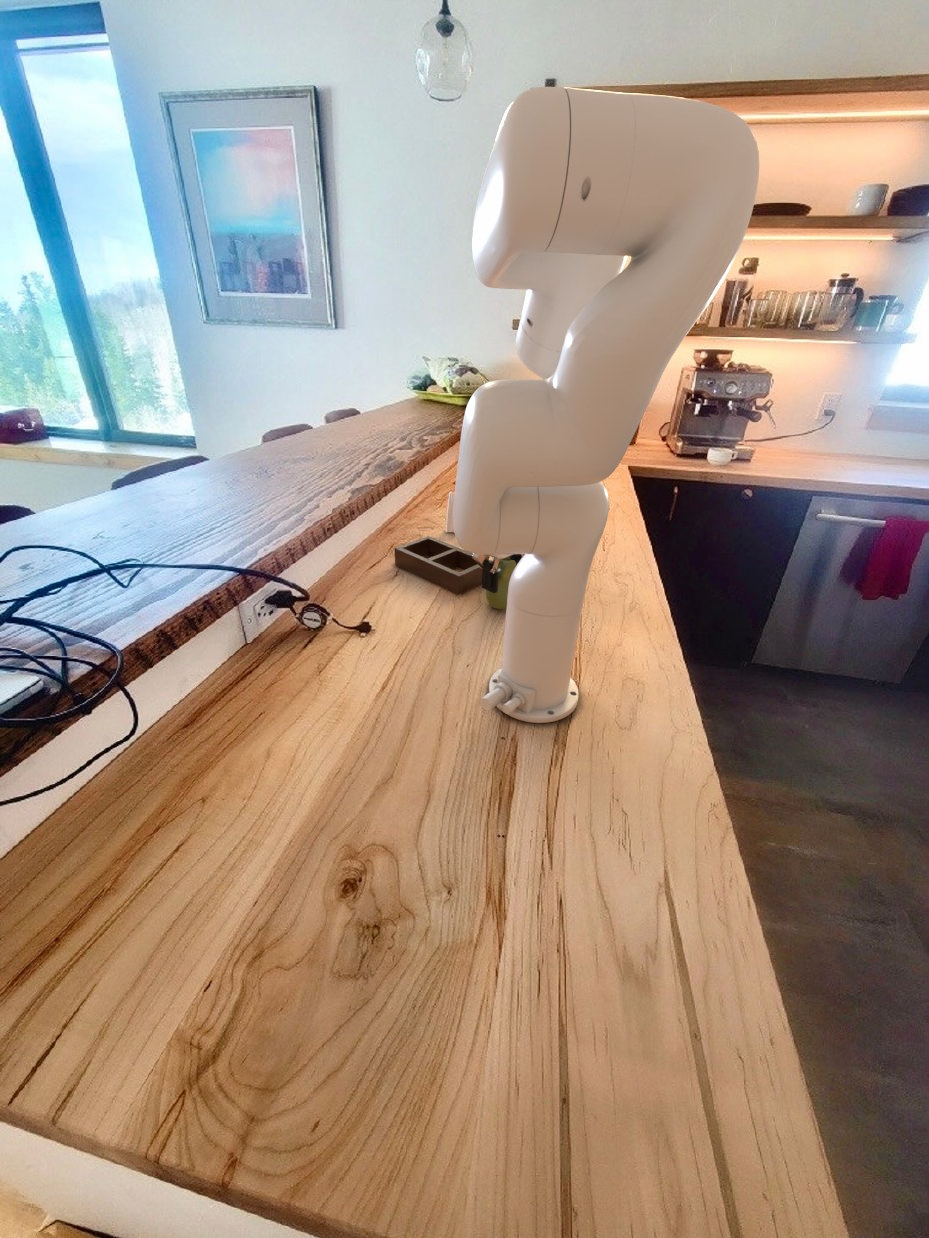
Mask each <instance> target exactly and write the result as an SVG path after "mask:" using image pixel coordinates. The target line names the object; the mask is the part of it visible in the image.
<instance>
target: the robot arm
mask: <svg viewBox="0 0 929 1238" xmlns="http://www.w3.org/2000/svg"><path fill="white" fill-rule="evenodd" d="M490 152H491V153H490V155H489V159H488V162H487V164H486V167H485V170H484V174H483V176H482V180H481V183H480V188H479V191H478V195H477V200H476V203H475V209H474V210H475V211H474V216H473V224H472V236H471V237H472V238H471V249H472V250H471V252H472V263H473V267H474V271H475V274H476V277H477V279H478V280H479V282H480V283H481V284H482V285H484V286H485V287H487V288H491V289H501V290H523V291H524V290H525V291H526V292H525V296H524V300H523V305H522V310H521V314H520V318H519V324H518V327H517V332H516V336H515V350H516V353H517V356H518V358H519V359H520V362H521V363H522V364H523V365H524V366H525V367H526V368H527V370H529V371H530V372H531V373H533V374H534V375H536V376H537V377H539V378H541V379H521V378H520V379H513V378H512V379H509V378H508V379H499V380H497V379H496V380H491V381H488V382H485V383H483V384H482V385H479V387H478V388H477V389H476V390H475V391H474V392H473V393H472V394H471V397H470V399H469V400H468V401H467V404H466V408H465V411H464V415H463V420H462V426H461V432H460V440H459V451H458V458H457V467H456V476H455V477H456V478H455V485H454V493H453V497H454V503H453V526H454V532H453V533H454V536H455V539H456V540H457V542H458V544H459V545H460V547H461V549H463V550H465V551H468V552H470V553H473V555H472V558H473V559H474V560H475V561H476V562H477V564H478V565H479V566H480V568H481V569H482V584H481V588H482V589H483V590H485V591H486V590H488V591H490V592H492V593H496V592H497V591H498V578H499V572H497V571H496V570H497V567H498V564H499V561H500V559H504V558H506V557H509V558H510V559H512V560H515V562H516V567H515V569H514V571H513V573H512V575H511V578H510V581H509V587H508V598H507V609H505V611H506V612H505V621H504V633H503V644H502V645H503V646H502V657H501V658H502V660H501V667H500V668H498V669H497V670H496V671H495V672H494V673H493V674H492V675H491V677H490V679H489V683H488V693H487V694H485V695H484V696H482V697H481V698H480V699H479V705H480V707H481V708H482V709H483V710H484V711H485V712H489V711H491V710H493V709H494V708H495V707H496V708H497V709H498V710H499V711H500V712H502V713H503V714H505V715H507V716H509V717H510V718H514V719H515V720H519V721H523V722H527V723H534V724H547V723H552V722H557V721H559V720H562V719H564V718H567V717H568V716H570V715H571V714H572V713H573V712H574V711H575V709H576V708H577V705H578V702H579V697H580V693H579V688H578V686H577V683H576V682H575V680H573V678H572V677H571V676H572V671H573V665H574V659H575V653H576V649H577V643H578V642H577V641H578V636H579V631H580V626H581V625H580V624H581V618H582V613H583V608H584V603H585V598H586V597H585V596H586V592H587V587H588V586H587V585H588V581H589V576H590V572H591V568H592V565H593V562H594V557H595V555H596V552H597V549H598V547H599V544H600V541H601V539H602V536H603V534H604V532H605V531H604V530H605V528H606V525H607V523H608V516H609V511H610V497H609V492H608V490H607V488H606V486H605V484H604V482H603V481H604V480H606V479H608V478H609V477H610V476H611V475H612V474H613V473H614V472H615V471H616V469H617V468H618V467H619V465H620V463H621V461H622V460H623V458H624V456H625V454H626V453H627V450H628V448H629V446H630V444H631V442H632V440H633V438H634V436H635V434H636V431H637V430H638V427H639V426H640V423H641V421H642V419H643V417H644V415H645V413H646V410H647V408H648V406H649V404H650V403H651V400H652V398H653V396H654V394H655V392H656V389H657V387H658V385H659V383H660V381H661V378H662V376H663V374H664V372H665V370H666V368H667V366H668V365H669V363H670V361H671V359H672V357H673V356H674V355H675V353H676V351H677V350H678V348H679V347H680V345H681V344H682V342H683V341H684V339H685V338H686V336H687V335H688V334H689V332H690V331H691V330H692V328H693V327H694V325H696V323H697V321H698V320H699V319H700V317H701V316H702V315H703V313H704V311H705V310H706V309H707V307H708V306H709V304H710V303H711V302H712V300H713V298H714V297H715V295H716V294H717V292H718V290H719V288H720V287H721V285H722V283H723V282H724V281H725V278H726V277H727V274H728V273H729V271H730V269H731V267H732V265H733V264H734V262H735V259H736V257H737V255H738V253H739V250H740V248H741V246H742V243H743V241H744V239H745V235H746V233H747V231H748V227H749V224H750V221H751V218H752V214H753V210H754V206H755V202H756V196H757V193H758V184H759V177H760V152H759V147H758V142H757V139H756V137H755V134H754V133H753V130H752V128H751V127H750V126H749V124H748V123H747V122H746V121H745V120H744V119H743V118H741V117H740V116H739V115H738V114H736V113H734V111H731V110H729V109H727V108H725V107H722V106H719V105H716V104H713V103H710V102H707V101H703V100H698V99H693V98H687V97H679V96H671V95H662V94H661V95H660V94H652V93H651V94H649V93H634V92H633V93H631V92H617V91H608V90H607V91H606V90H597V89H588V88H587V89H585V88H575V87H565V86H538V87H532V88H530V89H527V90H524V91H522V92H521V93H519V94H518V95H517V96H516V97H515V98H514V99H513V100H512V101H511V102H510V104H509V105H508V106H507V108H506V110H505V112H504V115H503V117H502V119H501V122H500V124H499V127H498V130H497V133H496V136H495V139H494V143H493V146H492V149H491V151H490ZM628 257H630V261H629V263H628V265H627V266H626V267H625V265H626V262H627V260H628ZM624 267H625V268H624ZM490 557H491V558H493V559H492V561H493V562H492V564H491V563H490V562H489V561H488V560H490Z"/></svg>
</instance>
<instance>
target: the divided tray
mask: <svg viewBox="0 0 929 1238" xmlns="http://www.w3.org/2000/svg"><path fill="white" fill-rule="evenodd" d="M393 549H394V550H393V551H394V566H396V567H398V568H400V569H402V570H404V571H407V572H409V573H411V574H413V575H414V576H417V577H419V578H421V579H423V580H426V581H428V582H429V583H432V584H434V585H436V586H439V587H440V588H443V589H445V590H447V591H449V592H451V593H453V594H456V595H457V596H460V595H462V594H463V593H466V592H468V591H470V590H472V589H474V588H476V587H478V586H480V585H482V569H481V568H480V566H479V565H478V564H477V562H476V561H475V560H474V559H473V558H472V555H473V553H470V552H468V551H466V550H465V549H463V548H460V547H458V546H455V545H452V544H450V543H447V542H445V541H443V540H440V539H437V538H434V537H433V536H430V535H427V536H424V537H421V538H419V539H415V540H413V541H411V542H408V543H405V544H402V545H399V546H396V547H394V548H393ZM428 556H429V558H426V557H428ZM488 561H489V562H490V563H491V564H492V562H493V560H491V559H489V560H488ZM454 569H459V570H461V571H459V572H458V571H457V570H454Z"/></svg>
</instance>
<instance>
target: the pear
mask: <svg viewBox="0 0 929 1238" xmlns="http://www.w3.org/2000/svg"><path fill="white" fill-rule="evenodd" d="M515 567H516V562H515V560H512V559H510V558H509V557H506V558H504V559H500V561H499V564H498V567H497V570H496V571H497V572H499V578H498V591H497V592H496V593H492V592H490V591H488V590H485V598H486V600H487V602H488V604H489V605H490V606H491V607H492V608H494V609H495V610H506V609H507V598H508V587H509V581H510V578H511V575H512V573H513V571H514V569H515Z"/></svg>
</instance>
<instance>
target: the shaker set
mask: <svg viewBox="0 0 929 1238" xmlns="http://www.w3.org/2000/svg"><path fill="white" fill-rule="evenodd" d="M453 503H454V493H453V491H449V493H448V500H447V508H446V510H447V511H446V520H445V521H446V523H445V533H446V534H447V533H455V532H454V526H453Z"/></svg>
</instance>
